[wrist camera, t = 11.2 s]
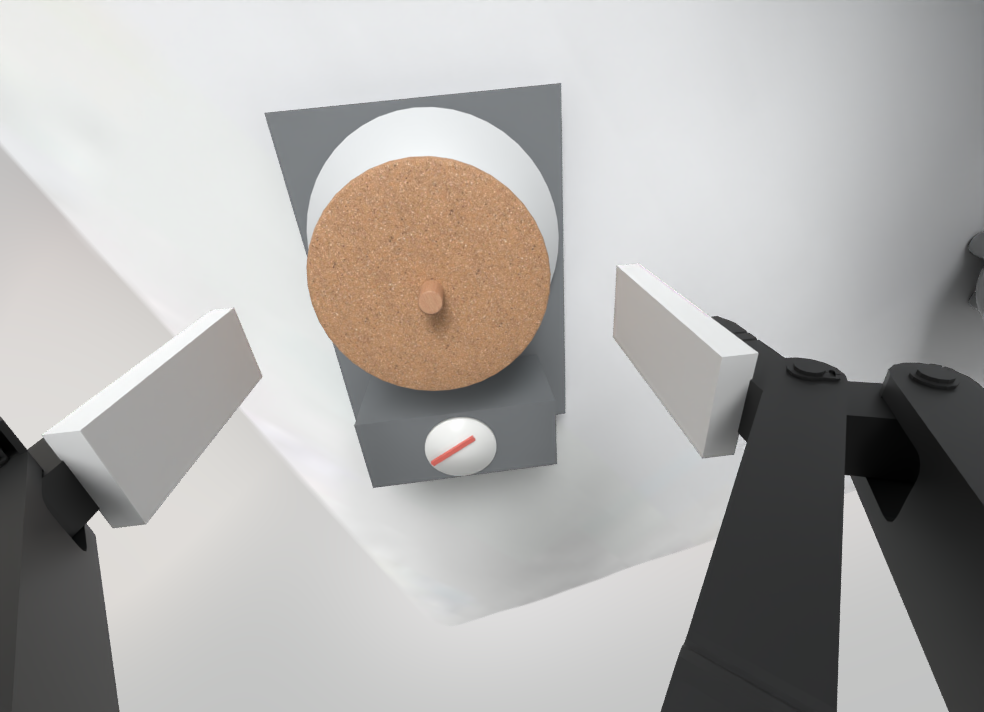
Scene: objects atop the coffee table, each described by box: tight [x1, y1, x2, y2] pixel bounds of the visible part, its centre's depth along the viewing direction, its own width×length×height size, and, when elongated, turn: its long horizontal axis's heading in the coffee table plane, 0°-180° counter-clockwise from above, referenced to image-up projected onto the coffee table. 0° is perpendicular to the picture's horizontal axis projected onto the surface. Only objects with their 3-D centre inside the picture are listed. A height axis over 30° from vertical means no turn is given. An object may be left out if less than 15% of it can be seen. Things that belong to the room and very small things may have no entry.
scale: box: [265, 83, 565, 488], centre depth 26 cm, size 16×22×9 cm
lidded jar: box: [307, 156, 551, 391], centre depth 21 cm, size 11×11×9 cm
